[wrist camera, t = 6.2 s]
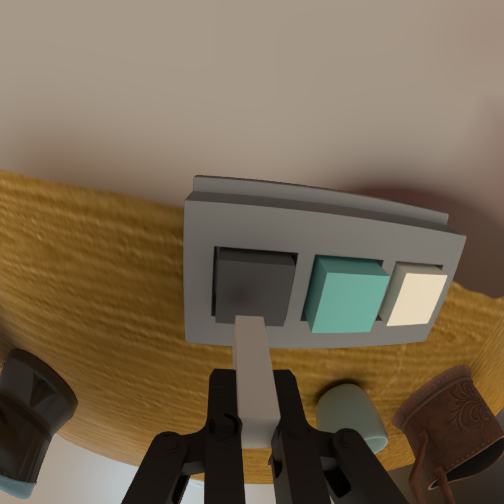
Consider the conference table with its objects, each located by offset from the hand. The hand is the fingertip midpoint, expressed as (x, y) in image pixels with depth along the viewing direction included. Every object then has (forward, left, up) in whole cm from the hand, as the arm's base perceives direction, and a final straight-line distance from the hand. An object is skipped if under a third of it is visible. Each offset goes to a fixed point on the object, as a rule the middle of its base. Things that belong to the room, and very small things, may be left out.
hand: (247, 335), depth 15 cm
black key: (+1, 0, -7) cm, 7 cm away
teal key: (+8, 0, -6) cm, 10 cm away
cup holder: (+36, -26, -10) cm, 45 cm away
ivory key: (+15, 0, -7) cm, 16 cm away
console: (+8, 0, -10) cm, 12 cm away
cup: (+15, -19, -10) cm, 26 cm away
